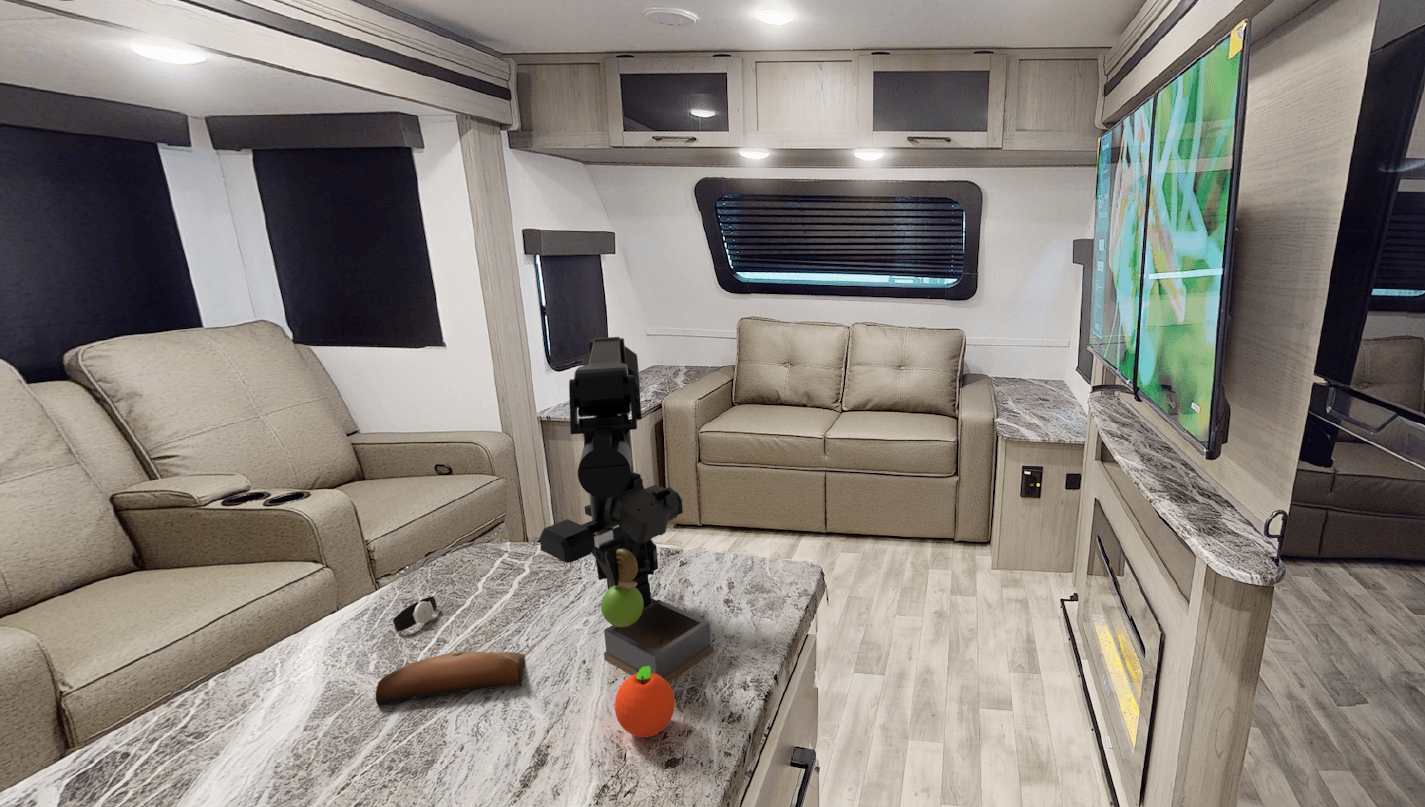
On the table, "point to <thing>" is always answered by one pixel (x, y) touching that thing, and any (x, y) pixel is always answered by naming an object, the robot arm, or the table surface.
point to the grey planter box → (659, 641)
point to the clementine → (644, 703)
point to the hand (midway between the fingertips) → (620, 581)
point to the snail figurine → (623, 593)
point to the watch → (415, 614)
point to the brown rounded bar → (451, 675)
